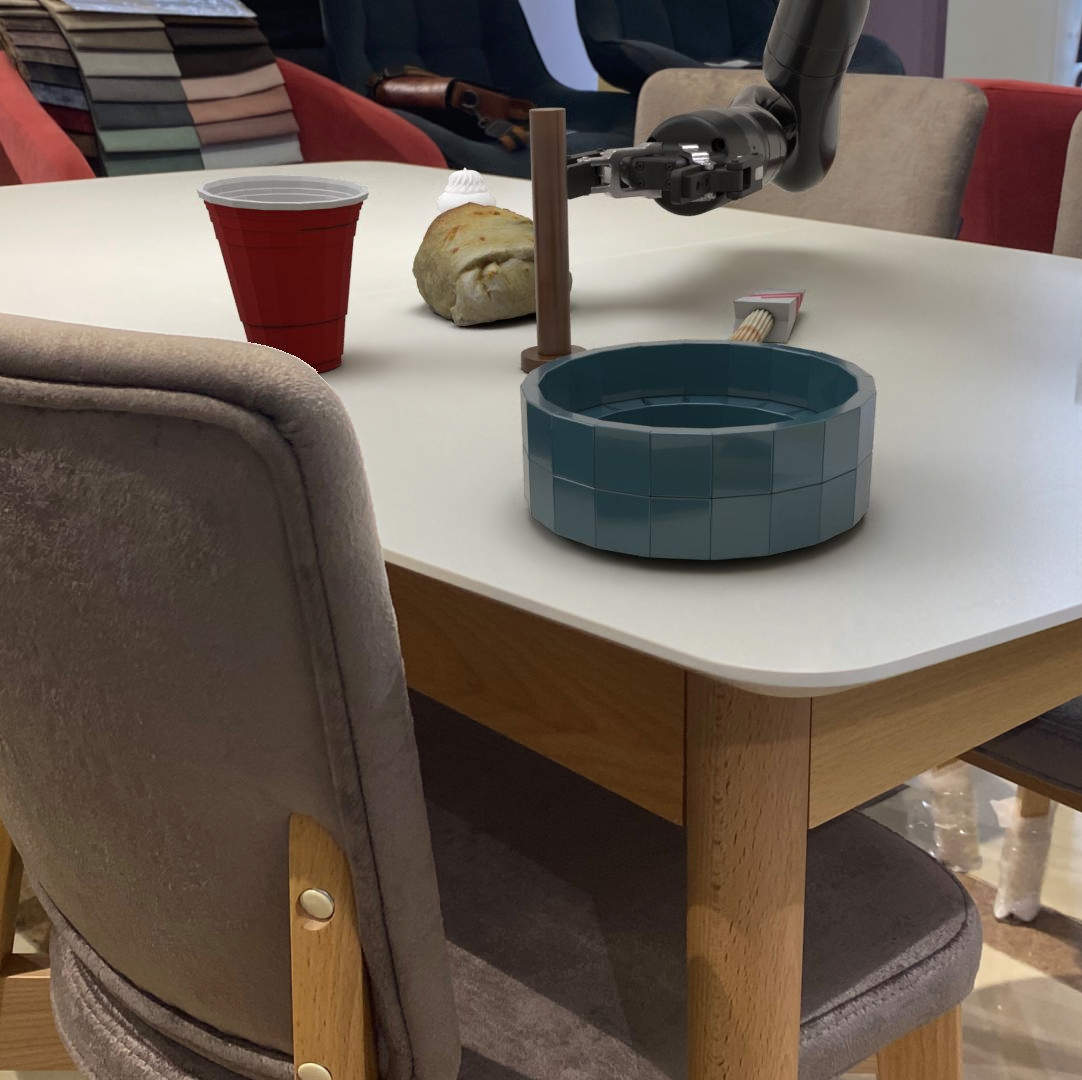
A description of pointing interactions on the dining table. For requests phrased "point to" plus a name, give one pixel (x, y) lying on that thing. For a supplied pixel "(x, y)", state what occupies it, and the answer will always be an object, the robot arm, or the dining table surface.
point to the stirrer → (550, 238)
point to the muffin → (465, 191)
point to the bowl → (698, 447)
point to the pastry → (478, 265)
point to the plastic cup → (288, 258)
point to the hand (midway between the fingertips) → (618, 186)
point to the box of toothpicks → (767, 315)
